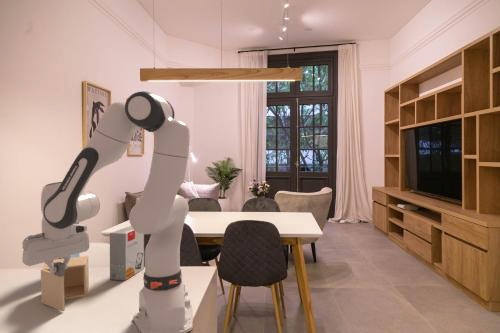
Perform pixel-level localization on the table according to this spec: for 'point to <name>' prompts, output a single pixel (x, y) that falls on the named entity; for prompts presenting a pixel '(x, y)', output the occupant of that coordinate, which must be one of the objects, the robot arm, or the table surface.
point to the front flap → (53, 287)
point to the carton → (75, 277)
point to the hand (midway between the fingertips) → (58, 271)
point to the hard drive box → (126, 253)
